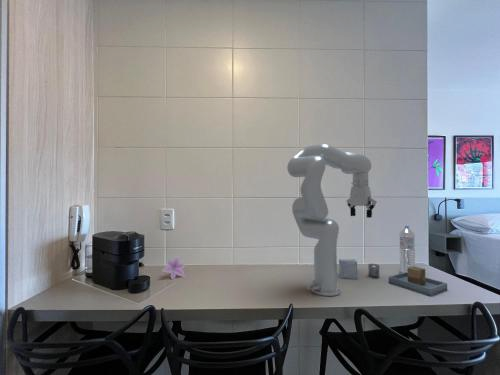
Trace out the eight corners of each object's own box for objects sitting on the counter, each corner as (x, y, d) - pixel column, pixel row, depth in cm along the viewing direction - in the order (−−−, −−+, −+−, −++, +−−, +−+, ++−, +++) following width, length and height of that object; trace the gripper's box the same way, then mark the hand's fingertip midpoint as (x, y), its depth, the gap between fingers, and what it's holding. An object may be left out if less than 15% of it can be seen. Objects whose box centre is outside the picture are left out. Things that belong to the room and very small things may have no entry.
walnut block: (419, 286, 113) (419, 270, 113) (407, 282, 117) (407, 267, 117) (425, 284, 115) (425, 269, 115) (413, 281, 119) (413, 266, 119)
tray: (430, 296, 105) (430, 289, 105) (388, 283, 120) (388, 276, 120) (447, 290, 111) (447, 283, 112) (405, 278, 127) (405, 272, 127)
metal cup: (375, 279, 126) (375, 267, 126) (366, 276, 130) (366, 264, 130) (381, 277, 128) (381, 265, 128) (372, 274, 133) (372, 263, 133)
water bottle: (400, 270, 140) (399, 224, 140) (414, 272, 136) (414, 225, 137) (399, 273, 134) (399, 226, 134) (415, 275, 130) (414, 227, 131)
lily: (157, 282, 125) (164, 267, 122) (160, 267, 135) (166, 252, 133) (181, 287, 129) (188, 272, 126) (182, 271, 139) (188, 257, 137)
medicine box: (354, 276, 130) (354, 259, 130) (357, 279, 126) (357, 261, 126) (339, 275, 131) (338, 258, 131) (341, 278, 127) (341, 261, 127)
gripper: (342, 184, 139) (342, 215, 138) (370, 183, 123) (371, 218, 123) (351, 184, 142) (351, 215, 142) (380, 183, 127) (380, 217, 127)
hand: (360, 216), depth 133 cm, fingers open, 9 cm apart
